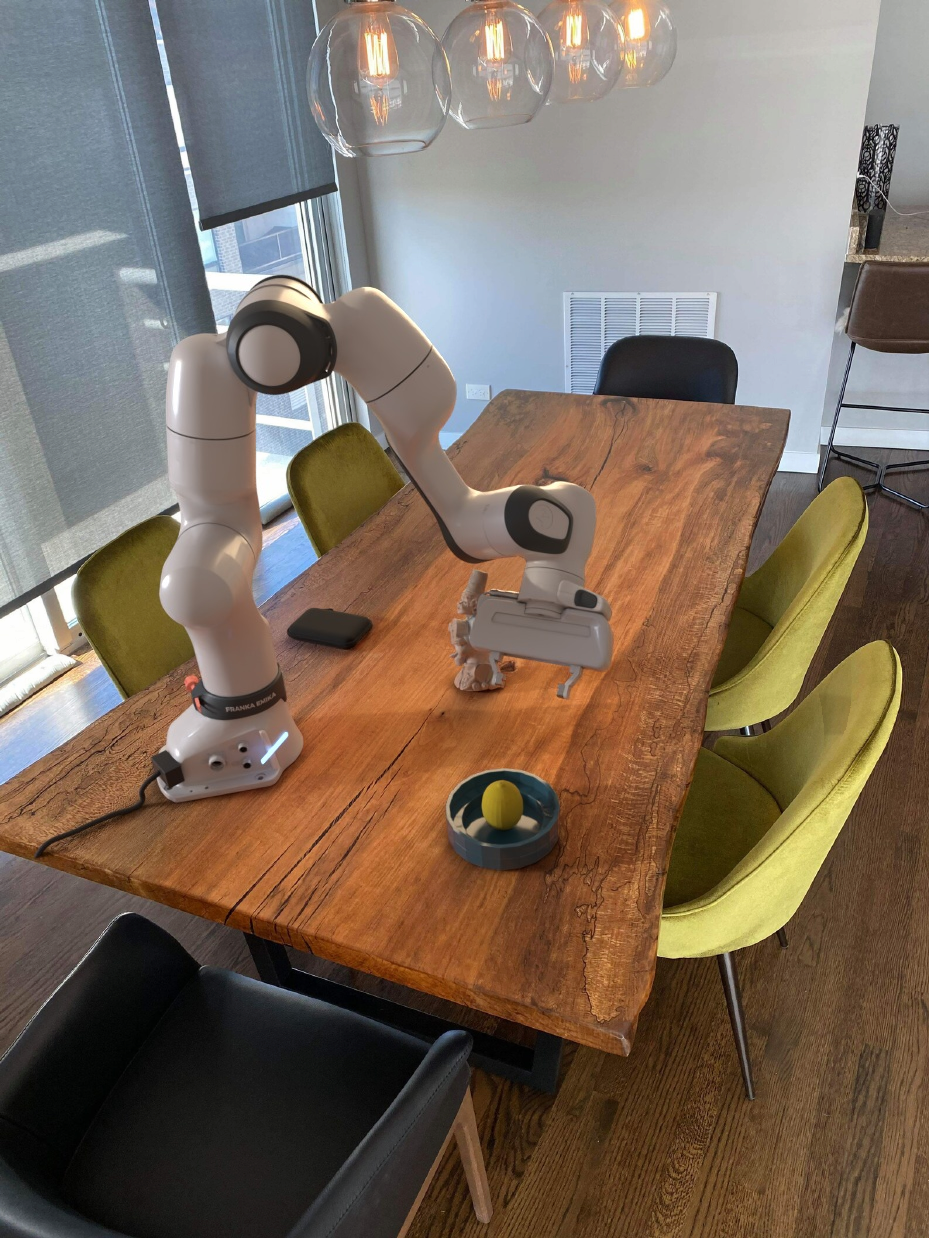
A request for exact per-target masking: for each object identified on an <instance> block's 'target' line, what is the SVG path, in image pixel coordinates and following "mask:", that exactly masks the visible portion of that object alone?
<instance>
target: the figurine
mask: <svg viewBox="0 0 929 1238" xmlns="http://www.w3.org/2000/svg"><path fill="white" fill-rule="evenodd" d="M488 577H489V573H488V572H486V571H483V570H481V569H476V568H473V569H472V572H471V573H470V576H469V580H468V581H467V585H466V587H465V589H464V590H463V591H461V597H460V600H459V601H457V602H456V607H457V611H456V613H457V614H458V615H464V616H465V615H466V617H465V619H459V618H456V617H453V619H452V621H451V622H449V623H448V627H447V631H448V632H450V643H451V646H454V648H455V652H453V653H450V654H449V656H448V657H449V658H451V659H453V660H454V664H455V665H456V666H457V667H461V669H460V671H458V673H457V674H456V676H455V678H454V686H455V687H456V688H457V689H459V690H460V691H465V692H478V691H486V690H490V691H491V690H495V689H499V687H497V686H493V685H492V678H493V673H494V672H493V670H492V667H491V664H490V660H489V656H490V653H485V652H479V651H477V650H475V649H474V648H473V647H472V646H471V644H470V642H469V635H470V631H471V628H472V625H473V622H474V620H475V617H476V615H477V604H478V600H479V597H480V596H481V595H482V594H483V593H484V592H486V587H487V583H488ZM462 666H463V667H462Z"/></svg>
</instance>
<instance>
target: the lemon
mask: <svg viewBox="0 0 929 1238" xmlns="http://www.w3.org/2000/svg"><path fill="white" fill-rule="evenodd" d="M482 812H483V816H484V818H485V820H486V821H487V823H488V824H489V825H490V826H491V827H493V828H495V829H498V830H508V829H511V828H513V827H514V826H515V825H517V823H518V822H519V821H520V819H521V816H522V813H523V800H522V796H521V794H520V792H519V790H518V788H517V787H516V786H515V785H514V784H512V783H511V782H508V781H504V780H500V781H496V782H493V783H492V784H490V785H489V786H488V787H487V788H486V790H485V792H484V794H483V799H482Z"/></svg>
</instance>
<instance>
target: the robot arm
mask: <svg viewBox="0 0 929 1238" xmlns="http://www.w3.org/2000/svg"><path fill="white" fill-rule="evenodd" d="M333 372H334V373H336V374H338V375H339V376H340V377H341V378H343V379H344V380H345V381H346V382H347V383H348V385H350V386H351V388H352V389H353V390H354V392H355V393H356V394H357V395H358V396H359V397H360V398H361V400H362V401H363V402H364V403H365V404H366V406H367V407H368V408H369V409H370V411H371V412H372V414H373V415H374V416H375V418H376V419H377V421H378V422H379V424H380V425H381V427H382V429H383V431H384V438H385V440H386V444H387V445H388V448H389V449H390V451H391V453H392V455H393V456H394V458H395V460H396V461H397V463H398V465H399V466H400V467H401V469H402V470H403V471H404V474H405V475H406V476H407V478H408V479H409V481H410V482H411V484H412V485H413V486H414V488H415V490H416V491H417V493H418V494H419V495H420V497H421V498H422V499H423V501H424V502H425V504H426V505H427V507H428V508H429V509H430V510H429V511H431V513H432V514H433V516H434V518H435V520H436V523H437V524H438V527H439V530H440V532H441V535H442V538H443V540H444V542H445V544H446V546H447V547H448V549H449V551H450V552H451V553H452V554H453V555H454V556H455V557H456V558H457V559H459V560H460V561H462V562H464V563H466V564H471V565H472V564H473V565H478V564H482V563H486V562H487V563H488V562H490V561H494V560H500V559H507V558H508V559H509V558H510V559H511V558H516V557H518V558H522V559H524V560H525V566H524V569H523V574H522V578H521V582H520V587H519V590H518V591H512V590H501V589H498V588H491V589H490V590H488V591H485V592H484V593H483V594H482V595H481V596H480V597H479V600H478V604H477V615H476V617H475V620H474V622H473V625H472V628H471V631H470V635H469V642H470V644H471V646H472V647H473V648H474V649H475V650H477V651H479V652H485V653H490V656H489V660H490V664H491V667H492V670H493V672H494V673H493V678H492V685H493V686H497V687H498V688H505V686H506V682H507V677H508V675H506V674H505V673H502V671H501V667H500V665H499V664H502V663H503V661H504V658H505V657H508V658H509V657H510V658H514V659H520V660H526V661H532V662H538V663H545V664H550V665H555V666H562V667H568V668H569V673H570V674H571V675H570V677H569V678H568V679H567V680H566V681H565V683H558V685H557V691H556V694H555V695H556V697H557V698H558V699H563V700H570V697H571V691H572V688H574V687H575V686H576V684H578V682H579V681H580V680H581V679H582V677H583V673H584V670H585V671H590V672H591V671H592V672H597V673H605V672H606V671H608V669H610V668H611V665H612V659H613V653H614V641H615V639H614V630H613V627H612V626H611V624H610V621H612V617H613V608H612V606H611V604H610V602H609V601H608V600H607V599H606V598H605V597H603V596H602V595H600V594H598V593H596V592H594V591H591V590H590V589H587V588H585V585H586V566H587V564H588V561H589V559H590V558H591V555H592V552H593V548H594V542H595V537H596V531H597V519H598V518H597V515H598V514H597V513H598V511H597V510H598V509H597V503H596V499H595V498H594V496H593V494H592V493H590V492H589V490H587V489H586V488H584V487H583V486H581V485H578V484H575V483H573V482H569V481H563V480H562V481H554V482H552V483H550V484H547V485H542V486H539V485H534V484H518V485H517V484H516V485H512V486H507V487H501V488H499V489H494V490H490V491H479V490H476V489H473V488H472V487H469V486H468V485H467V484H466V483H465V481H464V480H463V478H462V476H461V475H460V474H459V472H458V470H457V469H456V467H455V466H454V464H453V463H452V461H451V460H450V458H449V457H448V455H447V454H446V452H445V450H444V449H443V447H442V444H441V442H440V431H442V430H443V428H444V426H445V425H446V424H447V422H448V421H449V419H450V418H451V416H452V414H453V412H454V410H455V406H456V402H457V395H458V394H457V393H458V387H457V381H456V379H455V376H454V374H453V372H452V371H451V368H450V366H449V365H448V363H447V362H446V360H445V359H444V357H443V355H441V354H440V352H439V351H438V350H437V348H436V347H435V346H434V345H433V344H432V342H431V340H429V339H428V337H427V336H426V335H425V333H424V331H422V330H421V329H420V327H419V326H418V325H417V324H416V322H414V321H413V320H412V319H411V318H410V317H409V316H408V315H407V313H406V312H405V311H404V310H403V309H402V308H400V307H399V306H398V305H397V304H396V302H394V301H393V300H392V299H391V298H389V296H387V295H386V293H384V292H382V291H381V290H379V289H377V288H375V287H370V286H362V287H357V288H355V289H351V290H349V291H347V292H345V293H343V294H341V296H339V297H338V298H337V299H336V300H335V301H332V302H328V303H324V302H323V299H322V297H321V296H320V294H319V293H318V292H317V290H315V289H314V287H312V285H310V284H309V283H308V282H307V281H305V280H303V279H302V278H299V277H297V276H293V275H291V274H290V275H289V274H276V275H270V276H268V277H264V278H263V279H261V280H259V281H258V282H257V283H255V284H254V285H253V286H252V287H251V288H250V290H248V292H247V293H246V294H245V295H244V296H243V298H242V299H241V300H240V302H239V303H238V305H237V307H236V309H235V312H234V314H233V317H232V318H231V320H230V322H229V325H228V327H227V330H226V331H224V332H221V333H211V332H210V333H209V332H208V333H207V332H206V333H197V334H192V335H190V336H188V337H185V338H183V339H182V340H180V341H179V342H178V343H177V344H176V345H175V346H174V347H173V349H172V352H171V354H170V358H169V365H168V372H167V378H166V388H165V389H166V391H165V432H166V450H167V451H166V453H167V473H168V475H167V476H168V482H169V485H170V487H171V488H172V490H173V491H174V492H175V495H176V499H177V503H178V507H179V512H180V527H179V533H178V535H177V539H176V541H175V544H174V545H173V547H172V549H171V551H170V553H169V554H168V556H167V558H166V559H165V561H164V563H163V566H162V570H161V575H160V581H159V582H160V583H159V591H158V592H159V593H158V594H159V601H160V605H161V606H162V608H163V609H164V611H165V613H166V614H167V615H168V616H169V617H170V619H172V620H173V621H174V622H175V623H178V624H179V625H180V626H183V627H184V629H185V631H186V633H187V634H188V637H189V639H190V641H191V644H192V647H193V651H194V655H195V658H196V661H197V662H196V663H197V666H198V669H199V673H200V676H201V678H200V679H198V677H197V676H195V675H188V676H186V678H185V679H184V685H185V690H186V691H187V692H188V693H190V696H191V702H192V704H190V706H189V707H187V708H186V709H185V710H184V711H183V712H182V713H181V714H180V715H179V716H178V717H176V718H175V719H174V720H173V721H172V722H171V724H170V725H169V728H168V729H167V733H166V739H165V740H166V742H165V745H163V746H162V747H161V748H160V750H159V751H158V753H156V754H155V755H152V756H150V759H151V763H152V766H153V769H154V773H153V774H151V775H150V776H149V777H147V778H146V779H145V780H144V782H143V783H142V784H141V786H140V787H139V790H138V796H139V800H138V801H137V802H136V803H135V804H133V805H131V806H129V807H126V808H122V809H118V810H114V811H111V812H108V813H106V814H104V815H102V816H100V817H97V818H96V819H93V820H90V821H88V822H86V823H83V824H82V825H80V826H78V827H76V828H73V829H71V830H68V831H65V832H63V833H60V834H58V835H57V834H56V835H55V836H53V837H51V838H49V839H47V840H46V841H45V842H43V843H42V844H41V845H40V846H39V848H37V850H36V852H35V854H34V856H33V858H34V859H38V858H40V857H41V856H42V855H43V854H44V852H45V851H46V850H47V849H48V848H49V847H50V846H51V845H53V844H55V843H57V842H59V841H62V840H65V839H68V838H70V837H73V836H75V835H77V834H80V833H82V832H84V831H87V830H88V829H90V828H92V827H95V826H97V825H100V824H102V823H104V822H106V821H108V820H110V819H113V818H116V817H120V816H122V815H127V814H130V813H132V812H134V811H137V810H139V809H140V808H141V807H143V805H144V804H145V802H146V798H147V797H146V792H145V791H146V790H147V788H148V787H149V785H151V784H152V783H153V782H154V781H155V780H156V782H157V785H158V787H159V790H160V792H161V793H162V794H163V796H164V797H165V798H166V799H168V800H170V801H171V802H174V803H185V802H189V801H194V800H195V801H196V800H199V799H200V800H201V799H206V798H210V797H216V796H222V795H227V794H232V793H239V792H245V791H249V790H256V789H261V788H267V787H271V786H274V785H275V784H276V783H277V782H278V781H279V780H280V778H281V776H282V774H283V772H284V771H285V770H286V769H287V768H288V767H290V765H292V764H293V763H294V762H295V761H296V760H297V759H298V757H299V756H300V754H301V753H302V751H303V748H304V736H303V734H302V732H301V730H299V728H298V725H297V724H296V722H295V720H294V718H293V715H292V713H291V710H290V707H289V705H288V702H287V700H288V697H287V693H288V691H287V686H286V681H285V676H284V672H283V670H282V668H281V665H280V663H279V662H278V661H277V656H276V651H275V646H274V641H273V636H272V635H273V634H272V631H271V630H272V629H271V626H270V622H269V621H268V619H267V618H266V617H264V615H262V614H261V613H260V610H259V608H258V605H257V604H256V600H255V598H254V592H253V591H254V590H253V583H254V582H253V580H254V573H255V570H256V567H257V564H258V562H259V559H260V556H261V553H262V551H263V550H262V549H263V539H264V538H263V536H264V535H263V524H262V517H261V507H260V502H259V495H258V488H257V487H258V486H257V400H258V399H257V398H258V393H260V394H262V395H268V396H281V395H285V394H289V393H292V392H295V391H297V390H300V389H302V388H304V387H306V386H308V385H311V384H313V383H317V382H320V381H322V380H325V379H327V378H329V377H330V376H332V373H333Z"/></svg>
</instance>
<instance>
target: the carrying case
mask: <svg viewBox="0 0 929 1238" xmlns="http://www.w3.org/2000/svg"><path fill="white" fill-rule="evenodd" d="M373 628H374V623H373V621H372V620H371V619H370V618H369V617H368V616H364V615H359V614H354V613H348V612H343V611H337V610H335V609H333V608H331V607H330V608H319V607H309V608H307V610H305V611H304V612H303V613H302V614H301V615H300V616H299V617H297V618H296V619H295V620H294V621H293V622H292V623H291V624H290V625H289V626H288V627H287V629H286V635H287V636H288V637H289V638H290V639H291V640H294V641H297V642H303V643H307V644H312V645H317V646H321V647H326V648H327V647H328V648H331V649H332V648H333V649H337V650H343V651H350V650H352V649H354V648H355V647H356V646H357V645H358V644H359V643H360V642H361V641H362V640H363V638H364V637H366V635H367V634H368V633H370V631H372V629H373Z"/></svg>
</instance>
